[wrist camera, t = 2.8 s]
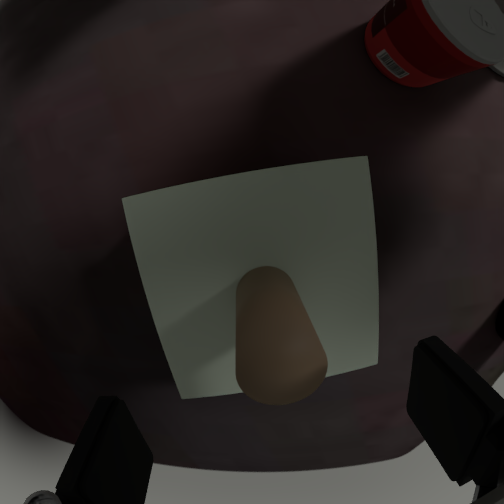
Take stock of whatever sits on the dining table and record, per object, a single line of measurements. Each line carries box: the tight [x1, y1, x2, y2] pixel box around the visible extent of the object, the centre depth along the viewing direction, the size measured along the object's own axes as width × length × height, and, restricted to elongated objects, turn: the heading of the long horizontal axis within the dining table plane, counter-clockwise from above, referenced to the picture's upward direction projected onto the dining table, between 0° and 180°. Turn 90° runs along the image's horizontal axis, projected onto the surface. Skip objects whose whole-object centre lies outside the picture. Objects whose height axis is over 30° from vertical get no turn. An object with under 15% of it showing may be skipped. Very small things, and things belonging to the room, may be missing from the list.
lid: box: [122, 156, 379, 405], centre depth 14 cm, size 13×13×8 cm
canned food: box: [364, 0, 504, 87], centre depth 16 cm, size 8×8×11 cm
